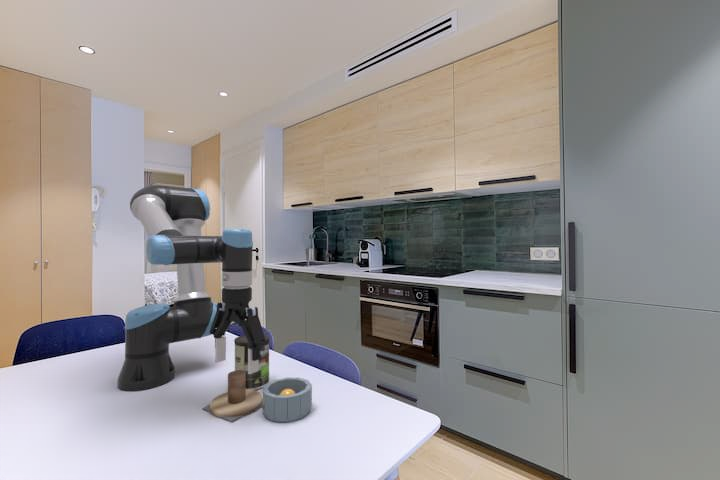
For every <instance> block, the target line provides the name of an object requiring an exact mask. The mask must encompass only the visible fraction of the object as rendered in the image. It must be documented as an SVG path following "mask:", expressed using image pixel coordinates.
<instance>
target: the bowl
mask: <svg viewBox="0 0 720 480" xmlns="http://www.w3.org/2000/svg"><path fill="white" fill-rule="evenodd" d="M312 386H313V385H312V383H311V381H309V380H308V379H305V378H302V377H289V376H287V377H283V378H282V377H281V378H279V379H277V378H276V379H274V380H272V381H269V383H267V384H266V385H265V387H263V388H262V398H263V407H262V410H263V413H262V414H263V417H264V418H265V419H266V420H267V421H270V422H273V423H282V424H284V423H292V422H296V421H299V420H302V419H304V418H305V417H307V416H308V415H309V414H310V413H311V411H312V405H313V402H312V401H313V396H312V395H313V387H312Z"/></svg>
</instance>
